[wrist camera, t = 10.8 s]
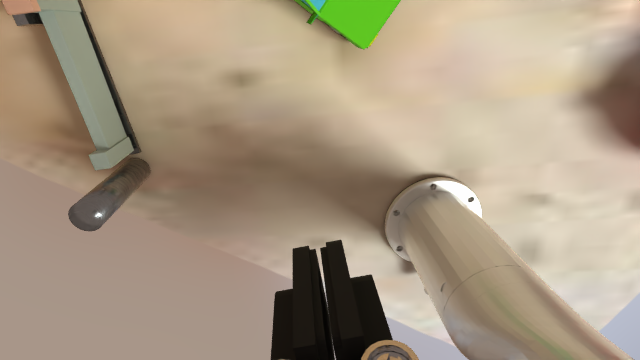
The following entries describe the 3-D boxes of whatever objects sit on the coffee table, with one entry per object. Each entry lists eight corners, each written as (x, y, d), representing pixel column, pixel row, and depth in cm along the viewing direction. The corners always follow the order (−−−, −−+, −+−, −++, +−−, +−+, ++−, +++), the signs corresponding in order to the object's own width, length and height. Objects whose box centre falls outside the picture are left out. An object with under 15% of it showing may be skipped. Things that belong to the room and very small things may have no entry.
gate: (135, 150, 38) (104, 174, 32) (117, 152, 38) (82, 178, 32) (75, -11, 32) (21, -20, 25) (54, -8, 32) (-6, -16, 25)
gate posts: (153, 178, 41) (108, 228, 30) (118, 184, 41) (61, 236, 30) (62, -51, 31) (-47, -88, 21) (16, -43, 31) (-115, -76, 21)
